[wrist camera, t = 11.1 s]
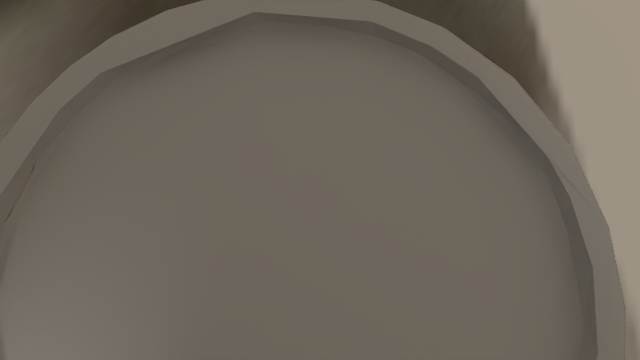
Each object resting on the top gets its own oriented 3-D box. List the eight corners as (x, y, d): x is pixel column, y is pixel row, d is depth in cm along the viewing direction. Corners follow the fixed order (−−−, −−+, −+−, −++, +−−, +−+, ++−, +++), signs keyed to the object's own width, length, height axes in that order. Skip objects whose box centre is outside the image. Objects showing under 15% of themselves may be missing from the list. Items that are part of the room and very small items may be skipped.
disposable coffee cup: (418, 176, 19) (626, -12, 7) (415, 433, 16) (712, 780, 5) (183, 159, 18) (-8, -71, 7) (148, 419, 16) (-238, 761, 4)
